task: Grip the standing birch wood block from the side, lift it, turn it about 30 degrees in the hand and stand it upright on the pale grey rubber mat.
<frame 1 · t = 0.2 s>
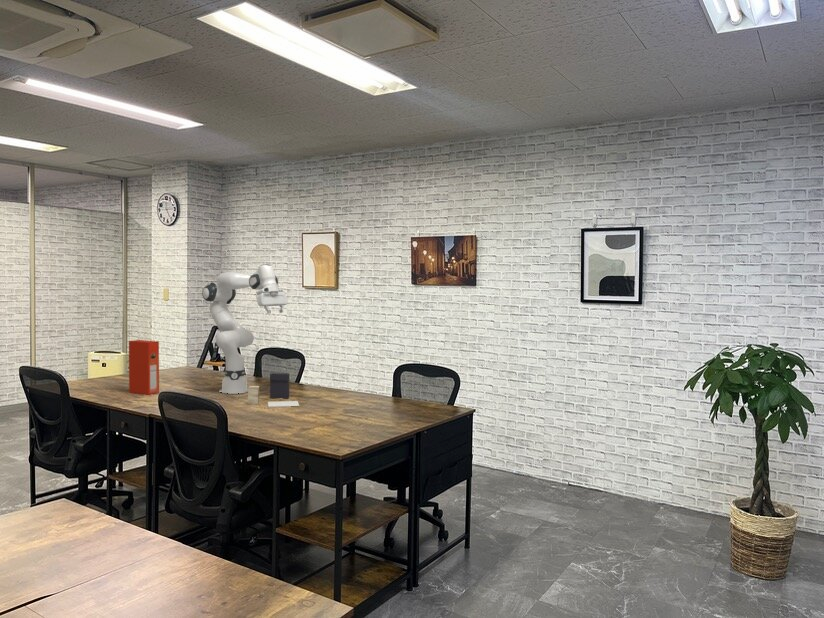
hand: (275, 312, 375), 52 cm above the table, tool tilted 20°, fingers open, 8 cm apart
mat: (283, 404, 364), on the table
block: (253, 404, 363), on the table
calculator: (279, 398, 383), on the table
file binder: (143, 393, 391), on the table
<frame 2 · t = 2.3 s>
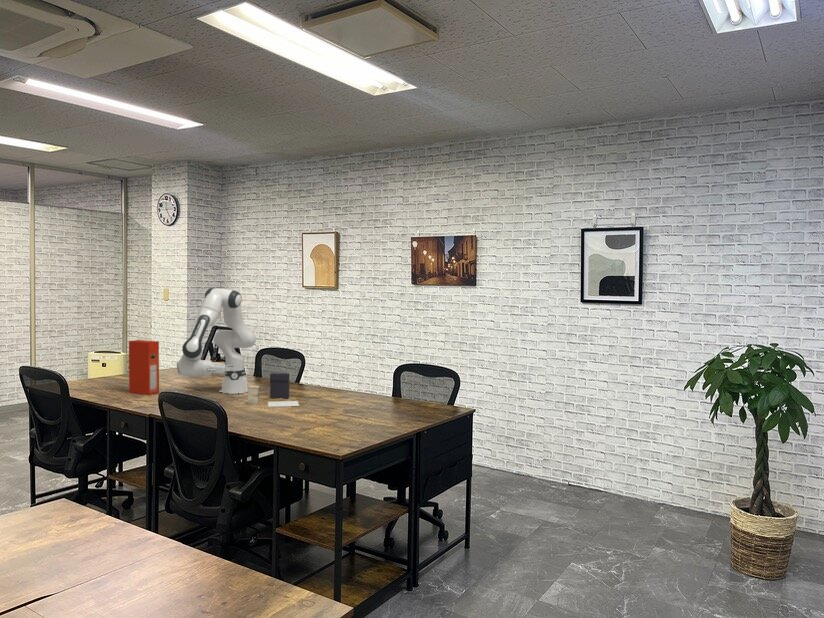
hand: (233, 368, 359), 21 cm above the table, tool horizontal, fingers open, 8 cm apart
nothing on the table moved.
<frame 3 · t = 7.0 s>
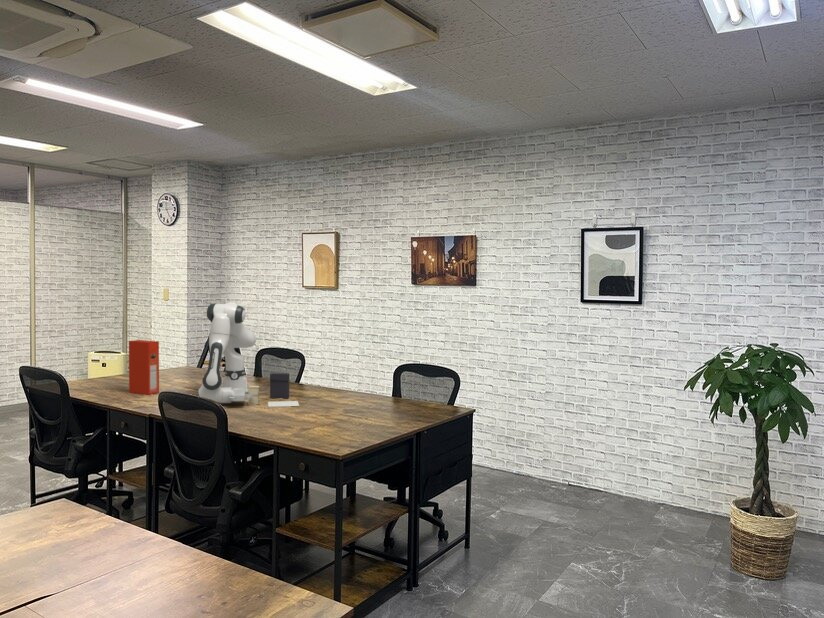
hand: (253, 394, 362), 6 cm above the table, tool horizontal, fingers closed on block, 5 cm apart
block: (253, 404, 363), on the table, touching gripper
everything else where it was.
when the fingers open (6 cm above the table, at t = 13.2 s): block stays where it is, resting on mat.
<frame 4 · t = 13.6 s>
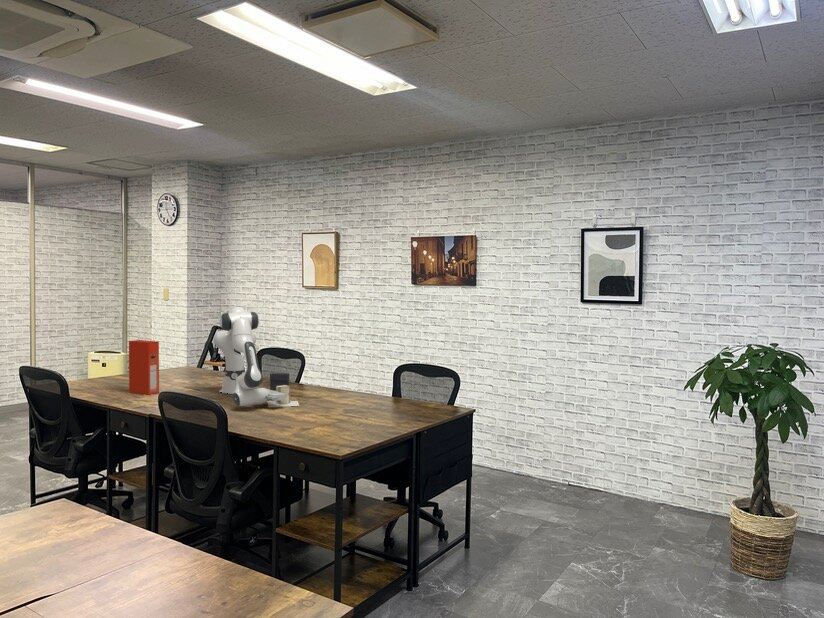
hand: (283, 393, 363), 6 cm above the table, tool horizontal, fingers open, 8 cm apart
block: (283, 403, 364), resting on mat
everything else where it was.
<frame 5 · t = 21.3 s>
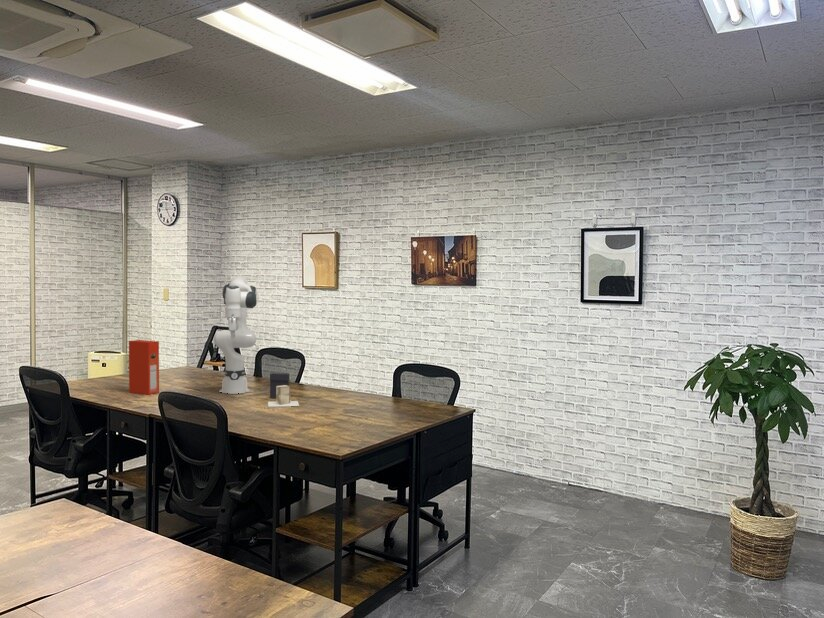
hand: (232, 338, 367), 37 cm above the table, tool pointing down, fingers open, 8 cm apart
nothing on the table moved.
at the end: block inside the target area on the mat (0.1 cm from its centre), point 0.5 cm above the mat's base; block tilted 0°; the gripper is holding nothing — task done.
